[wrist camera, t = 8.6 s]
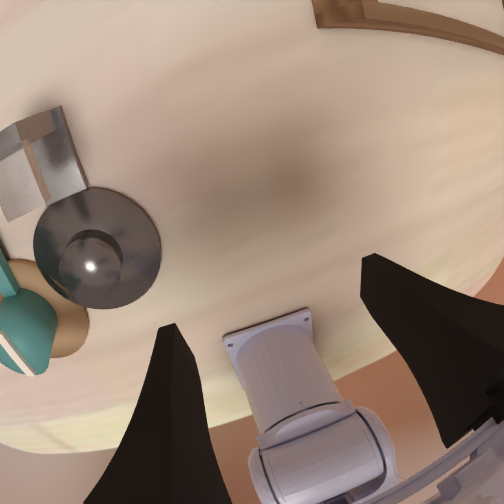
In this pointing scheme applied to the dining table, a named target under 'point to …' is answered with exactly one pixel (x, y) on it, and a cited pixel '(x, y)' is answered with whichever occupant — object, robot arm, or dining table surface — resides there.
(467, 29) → the tray
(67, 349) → the coaster
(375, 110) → the dining table surface
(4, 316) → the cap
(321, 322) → the dining table surface
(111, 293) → the dark grey handled bowl
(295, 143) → the dining table surface
